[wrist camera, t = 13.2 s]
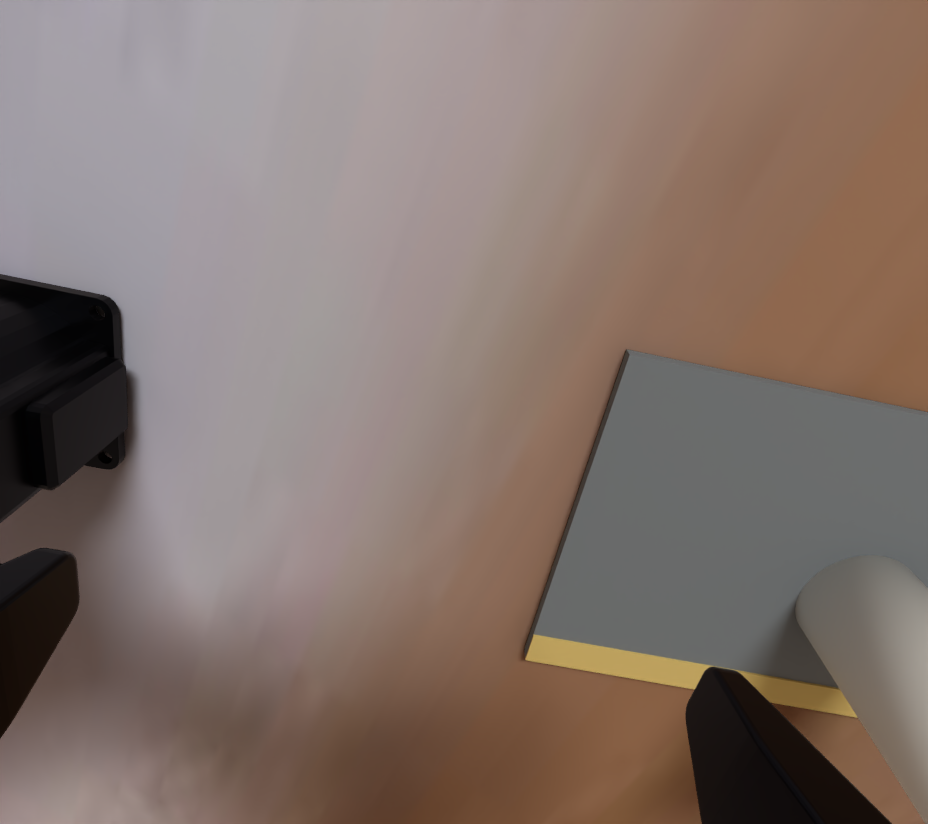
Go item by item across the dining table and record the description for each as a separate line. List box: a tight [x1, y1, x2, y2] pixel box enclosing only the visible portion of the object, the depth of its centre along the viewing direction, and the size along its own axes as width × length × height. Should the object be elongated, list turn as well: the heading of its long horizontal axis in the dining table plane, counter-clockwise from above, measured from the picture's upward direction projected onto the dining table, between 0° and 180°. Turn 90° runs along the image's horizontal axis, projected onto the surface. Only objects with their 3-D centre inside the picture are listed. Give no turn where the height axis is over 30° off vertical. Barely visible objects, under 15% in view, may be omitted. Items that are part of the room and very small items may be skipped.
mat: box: [524, 349, 928, 718], centre depth 24 cm, size 18×14×1 cm
